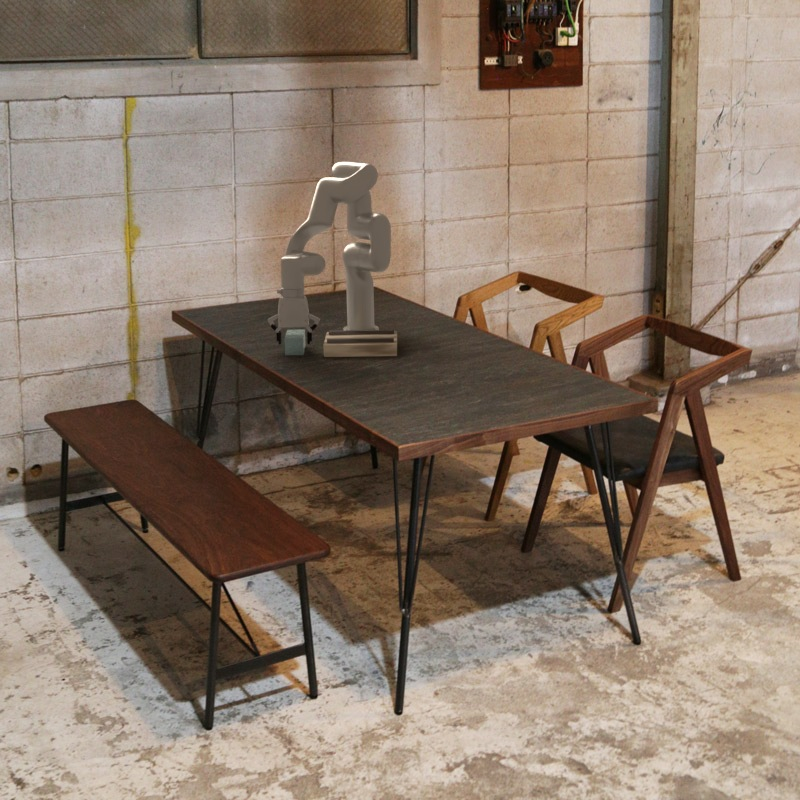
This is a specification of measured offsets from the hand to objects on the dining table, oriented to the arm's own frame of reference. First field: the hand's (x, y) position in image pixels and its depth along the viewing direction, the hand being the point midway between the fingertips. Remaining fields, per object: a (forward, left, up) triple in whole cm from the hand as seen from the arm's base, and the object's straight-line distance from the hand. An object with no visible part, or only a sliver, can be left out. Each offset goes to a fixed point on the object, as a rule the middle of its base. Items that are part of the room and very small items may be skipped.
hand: (294, 343), depth 431 cm
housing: (0, 0, -3) cm, 3 cm away
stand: (0, +22, -3) cm, 22 cm away
